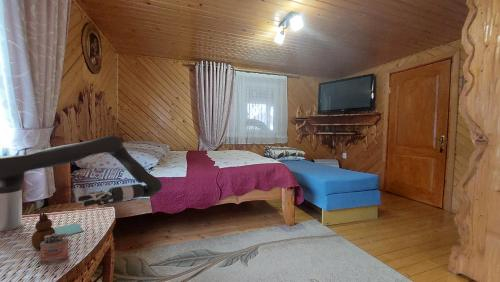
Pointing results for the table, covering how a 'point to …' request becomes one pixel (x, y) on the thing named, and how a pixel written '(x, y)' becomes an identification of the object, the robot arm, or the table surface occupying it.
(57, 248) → the lighter
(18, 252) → the table surface
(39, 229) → the wooden figurine
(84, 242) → the table surface
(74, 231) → the mat
